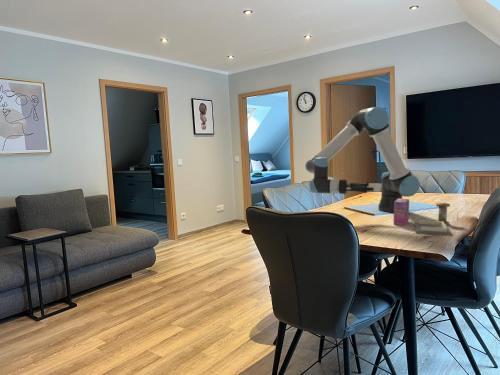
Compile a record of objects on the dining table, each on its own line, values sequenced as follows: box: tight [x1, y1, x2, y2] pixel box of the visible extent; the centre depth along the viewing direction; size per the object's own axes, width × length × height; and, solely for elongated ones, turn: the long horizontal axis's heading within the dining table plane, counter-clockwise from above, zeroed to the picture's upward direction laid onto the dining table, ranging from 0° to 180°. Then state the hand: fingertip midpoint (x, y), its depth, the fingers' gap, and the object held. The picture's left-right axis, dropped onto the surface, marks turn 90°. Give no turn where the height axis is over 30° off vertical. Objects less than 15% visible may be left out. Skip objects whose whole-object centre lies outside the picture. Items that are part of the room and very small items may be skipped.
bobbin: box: [435, 202, 451, 226], centre depth 182 cm, size 6×6×10 cm
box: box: [393, 198, 410, 226], centre depth 186 cm, size 10×6×12 cm, turn 148°
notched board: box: [414, 219, 452, 235], centre depth 171 cm, size 14×17×3 cm
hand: (381, 187), depth 188 cm, fingers open, 13 cm apart
